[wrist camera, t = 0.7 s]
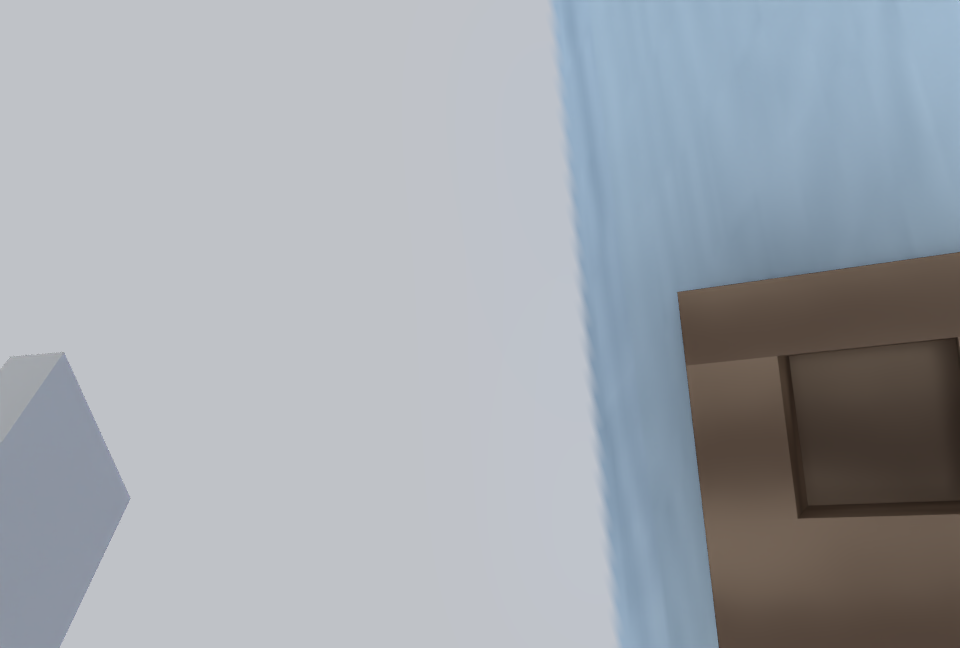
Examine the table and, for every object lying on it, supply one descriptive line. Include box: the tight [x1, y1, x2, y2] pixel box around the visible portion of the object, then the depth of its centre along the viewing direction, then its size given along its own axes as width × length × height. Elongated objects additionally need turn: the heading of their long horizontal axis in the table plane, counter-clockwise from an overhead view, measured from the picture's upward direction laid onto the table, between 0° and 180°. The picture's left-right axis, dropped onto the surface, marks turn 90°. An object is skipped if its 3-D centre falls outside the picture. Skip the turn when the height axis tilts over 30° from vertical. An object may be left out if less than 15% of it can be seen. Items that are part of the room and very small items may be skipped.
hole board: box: [677, 252, 960, 648], centre depth 31 cm, size 24×12×4 cm, turn 6°
